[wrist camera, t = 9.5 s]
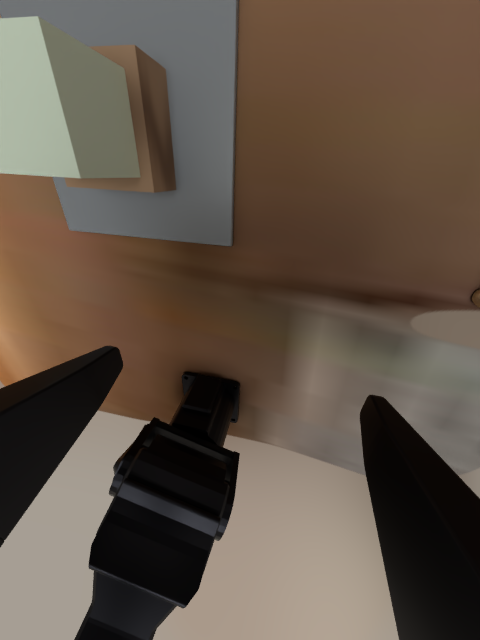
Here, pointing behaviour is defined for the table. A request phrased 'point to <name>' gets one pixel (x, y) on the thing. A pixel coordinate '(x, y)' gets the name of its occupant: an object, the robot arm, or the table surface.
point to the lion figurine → (476, 298)
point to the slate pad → (184, 106)
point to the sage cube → (61, 106)
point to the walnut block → (142, 124)
